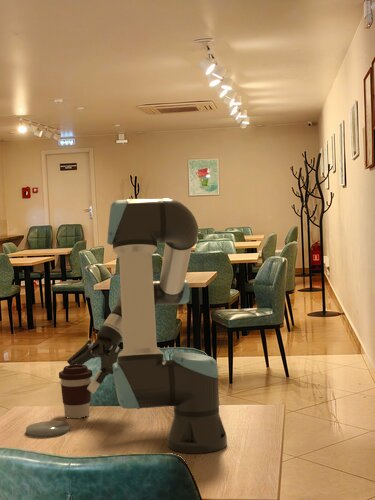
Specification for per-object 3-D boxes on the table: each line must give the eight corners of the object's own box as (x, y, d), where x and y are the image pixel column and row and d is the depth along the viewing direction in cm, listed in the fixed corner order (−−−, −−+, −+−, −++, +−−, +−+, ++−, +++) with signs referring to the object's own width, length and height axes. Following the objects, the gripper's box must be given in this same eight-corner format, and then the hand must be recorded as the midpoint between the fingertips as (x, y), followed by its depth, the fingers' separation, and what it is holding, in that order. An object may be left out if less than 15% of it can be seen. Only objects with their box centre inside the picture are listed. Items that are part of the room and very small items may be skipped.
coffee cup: (97, 411, 224) (95, 363, 223) (89, 420, 214) (87, 369, 213) (65, 411, 225) (63, 363, 224) (56, 420, 215) (54, 370, 214)
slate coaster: (75, 433, 202) (75, 428, 201) (32, 440, 196) (32, 435, 196) (62, 422, 212) (62, 418, 212) (21, 429, 207) (21, 424, 207)
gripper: (146, 342, 223) (110, 401, 213) (94, 335, 241) (58, 389, 230) (132, 327, 219) (95, 386, 209) (81, 321, 236) (44, 375, 226)
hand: (76, 388), depth 220 cm, fingers open, 13 cm apart
